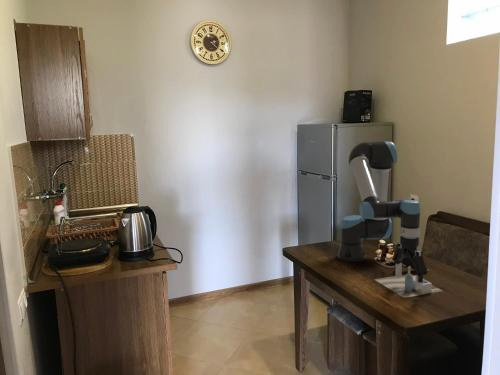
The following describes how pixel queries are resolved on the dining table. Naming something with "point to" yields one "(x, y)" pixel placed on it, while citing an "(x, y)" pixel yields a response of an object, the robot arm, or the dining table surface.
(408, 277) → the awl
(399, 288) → the panel
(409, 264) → the gun
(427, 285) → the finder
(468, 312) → the dining table surface
